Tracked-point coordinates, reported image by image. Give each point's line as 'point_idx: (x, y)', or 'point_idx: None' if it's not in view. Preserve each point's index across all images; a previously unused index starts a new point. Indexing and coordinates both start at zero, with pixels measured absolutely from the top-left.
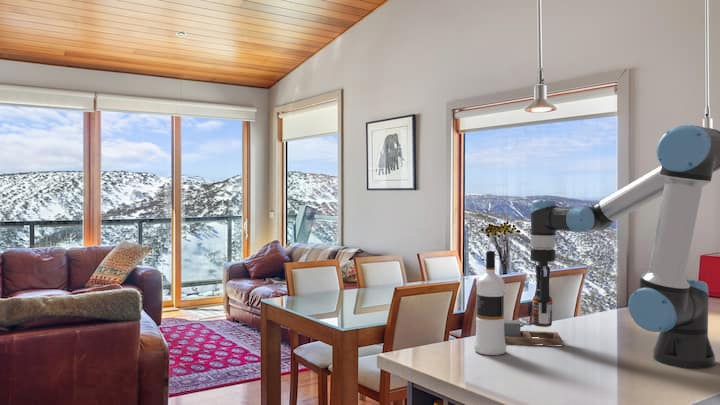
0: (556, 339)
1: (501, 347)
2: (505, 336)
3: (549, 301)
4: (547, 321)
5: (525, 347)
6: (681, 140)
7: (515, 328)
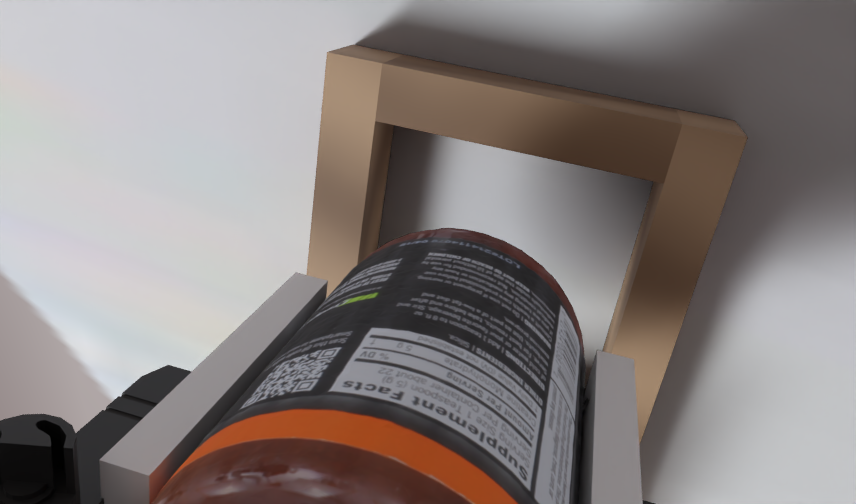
0: (708, 200)
1: None
2: None
3: None
4: (631, 386)
5: (720, 485)
6: None
7: None
